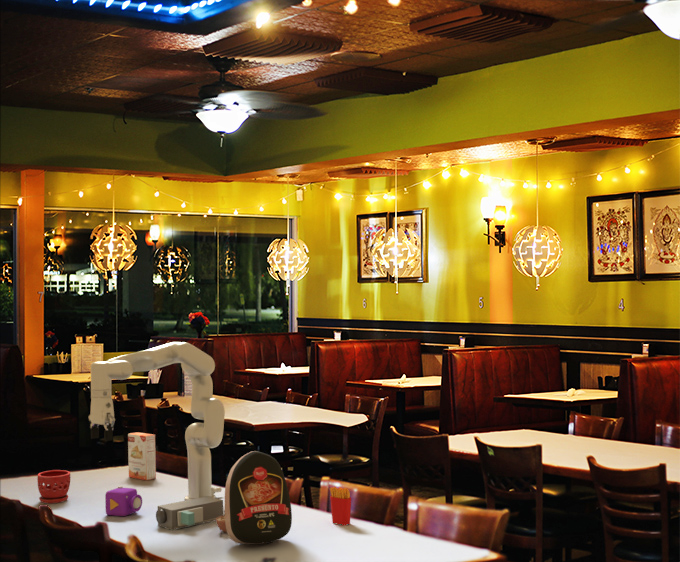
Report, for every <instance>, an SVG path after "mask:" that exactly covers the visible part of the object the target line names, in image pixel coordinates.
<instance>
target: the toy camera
mask: <svg viewBox="0 0 680 562" xmlns="http://www.w3.org/2000/svg"><path fill="white" fill-rule="evenodd" d="M104 497H105V502H104V503H105V514H106V515H108V516H114V517H115V516H116V517H126V516H128V515H129V516H130V515H132V514H134V513H137V512H139V511H140V510H141V508H142V505H143V497H142V496H141V494H138V491H137V489H136V488H135V487H134V488H133V487H132V488H131V487H123V486H122V485H119V486H117V488H114V489H110V490H108V491H106V493H105V496H104Z"/></svg>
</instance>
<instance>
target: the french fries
mask: <svg viewBox="0 0 680 562" xmlns="http://www.w3.org/2000/svg"><path fill="white" fill-rule="evenodd" d="M329 491H330V496H329V498H330V509H331V520H332V524H333V523H337V524H336V525H338V524H342V525H341V526H348V525H347V524H349V525H351V512H352V511H351V510H352V509H351V508H352V497H351V492H350V490H349V489H348V488H347V487H341V486H339V487H337V486H332V487H329Z"/></svg>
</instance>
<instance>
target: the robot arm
mask: <svg viewBox="0 0 680 562" xmlns="http://www.w3.org/2000/svg"><path fill="white" fill-rule="evenodd" d="M172 364H180V367H181V369H182V371H183V372H184V373H185V374H186V375H187V376H188V378H189V380H190V382H191V401H190V414H191V416H192V417H193V418H194V419H197V420H201V421H203V422H194V423H191V424H190V425H188V427H186V429H185V434H184V440H185V444H186V445H185V446H186V450H187V481H188V483H187V484H188V485H187V487H188V488H187V494H188V495H186V496H185V497H184V501H186V500H191V499H197V498H202V497H207V496H209V497H213V498H216V495H215V494H216V493H221V492H222V490H223V489H222V487H221V486H218V487H215V486H212V453H211V450H210V449H214V448H217V447H219V445H220V444H221V442H222V439H223V436H224V429H225V428H224V424H225V413H226V412H225V411H226V410H225V407H224V404H223V402H222V400H220V399H219V398H217V397H213V389H214V388H213V387H214V386H213V379H212V377H211V375H212V373H213V372H214V371H215V369H216V368H215V367H216V363H215V360H214V359H213V357H212V356H211V355H209V354H207V353H206V352H205V351H202V350H201V349H200V348H198V347H196V346H194V345H193V344H191V343H189V342H185V341H182V342H181V341H172V342H168V343H167V342H166V343H165V344H161V345H158V346H155V347H152V348H148V349H145V350H140V351H137V352H132V353H128V354H124V355H119V356H117V357H113V358H109V359H107V360H106V361H94V362H92V363H91V365H90V399H91V401H90V414H89V415H88V421H89V425H90V426H89V428H90V439H91V440H93V439H94V440H95V439H100V427H99V426H100V425H101V426H103V427H104V429H105V430H103V432H104V435H103V437H104V441H105V442H110V441H113V439H114V437H113V435H114V432H113V431H114V427H115V421H116V418H115V411H114V410H115V409H114V402H113V398H112V380H118V381H119V380H120V381H123V380H127V379H129V378H130V377H132V375H133V373H135V372H137V373H138V372H149V371H155V370H158V369H160V368H163V367H167V366H170V365H172Z"/></svg>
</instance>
